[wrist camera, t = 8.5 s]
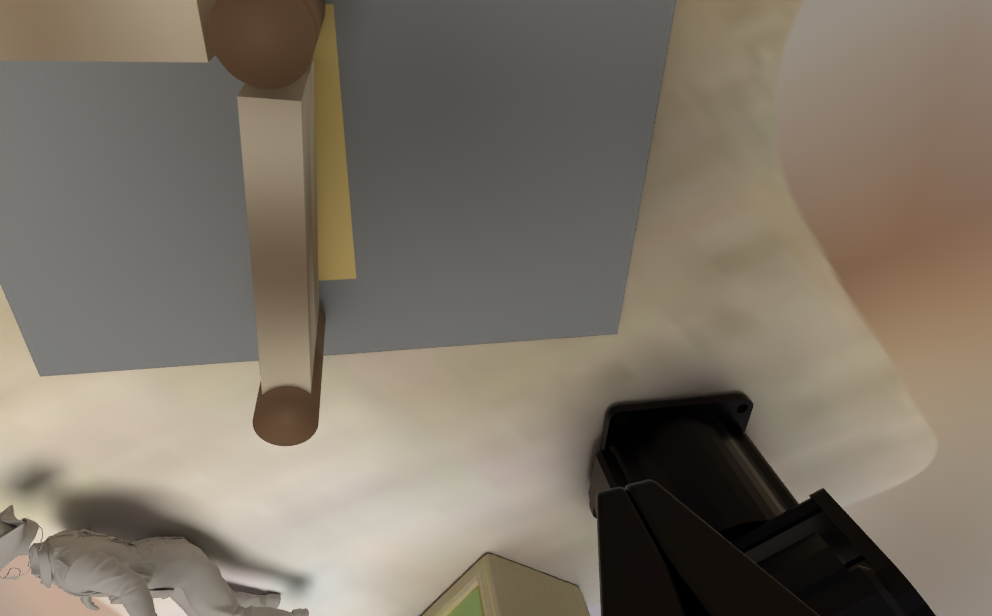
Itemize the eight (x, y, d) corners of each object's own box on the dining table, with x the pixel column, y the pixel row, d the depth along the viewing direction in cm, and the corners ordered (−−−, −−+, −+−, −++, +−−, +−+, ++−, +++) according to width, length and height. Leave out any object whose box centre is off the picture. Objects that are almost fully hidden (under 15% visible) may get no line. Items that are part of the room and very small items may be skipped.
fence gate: (326, 338, 21) (319, 444, 17) (275, 338, 20) (255, 447, 16) (321, 59, 16) (309, 108, 12) (256, 53, 16) (221, 101, 12)
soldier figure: (227, 617, 30) (-95, 629, 22) (258, 513, 31) (-36, 486, 23) (320, 680, 25) (-54, 729, 16) (352, 553, 26) (19, 538, 18)
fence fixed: (322, -37, 16) (307, -16, 11) (328, 39, 17) (319, 89, 12) (-82, -53, 14) (-307, -37, 9) (-49, 33, 15) (-238, 88, 10)
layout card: (697, -161, 16) (706, -163, 16) (613, 328, 24) (618, 335, 23) (-208, -235, 12) (-227, -240, 12) (45, 368, 20) (39, 378, 20)
